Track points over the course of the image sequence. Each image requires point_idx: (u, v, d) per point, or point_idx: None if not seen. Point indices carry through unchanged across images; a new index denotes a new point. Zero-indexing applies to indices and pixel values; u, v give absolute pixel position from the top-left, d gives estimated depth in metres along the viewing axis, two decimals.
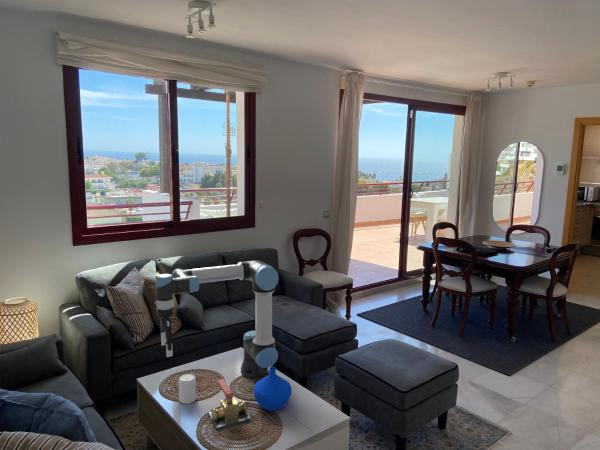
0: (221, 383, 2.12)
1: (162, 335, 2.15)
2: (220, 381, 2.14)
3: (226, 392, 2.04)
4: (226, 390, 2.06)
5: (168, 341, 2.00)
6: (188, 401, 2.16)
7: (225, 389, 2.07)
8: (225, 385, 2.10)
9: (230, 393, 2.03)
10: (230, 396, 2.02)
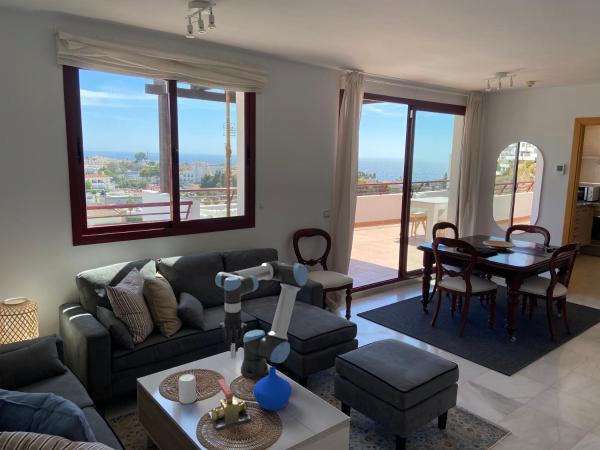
0: (221, 383, 2.12)
1: None
2: (220, 381, 2.14)
3: (226, 392, 2.04)
4: (226, 390, 2.06)
5: None
6: (188, 401, 2.16)
7: (225, 389, 2.07)
8: (225, 385, 2.10)
9: (230, 393, 2.03)
10: (230, 396, 2.02)
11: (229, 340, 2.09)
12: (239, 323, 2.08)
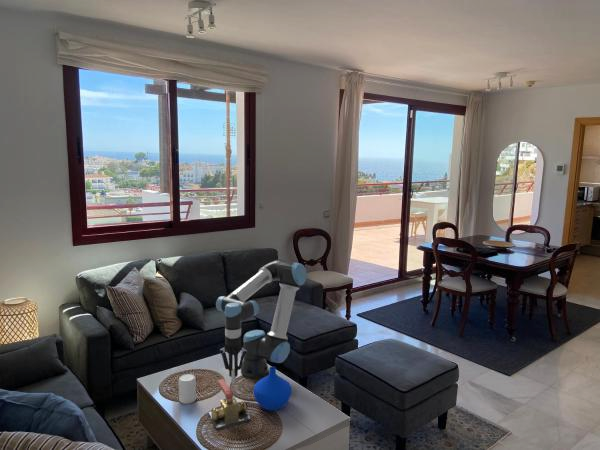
0: (221, 383, 2.12)
1: None
2: (220, 381, 2.14)
3: (226, 392, 2.04)
4: (226, 390, 2.06)
5: None
6: (188, 401, 2.16)
7: (225, 389, 2.07)
8: (225, 385, 2.10)
9: (230, 393, 2.03)
10: (230, 396, 2.02)
11: (230, 365, 2.11)
12: (239, 349, 2.10)
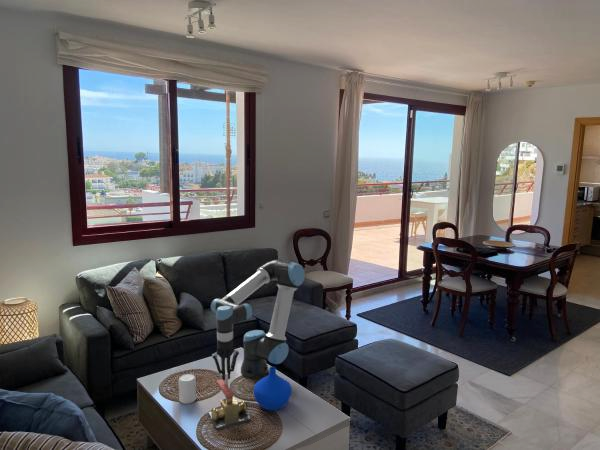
0: (220, 383, 2.12)
1: None
2: (219, 381, 2.13)
3: (226, 392, 2.04)
4: (226, 390, 2.06)
5: None
6: (188, 401, 2.16)
7: (225, 389, 2.06)
8: (224, 385, 2.10)
9: (230, 393, 2.03)
10: (230, 396, 2.02)
11: (223, 369, 2.10)
12: (232, 350, 2.11)
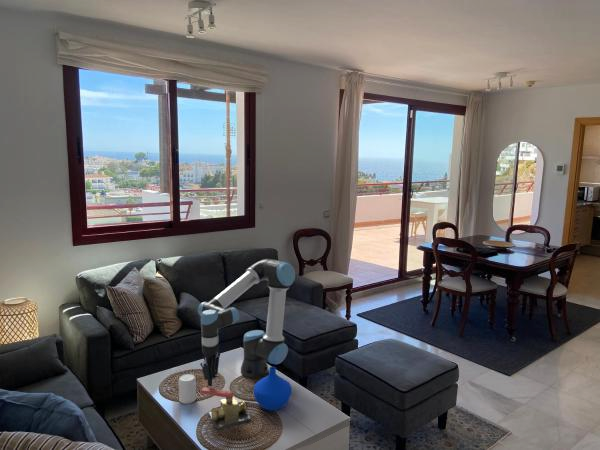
0: (209, 390, 2.05)
1: None
2: (205, 389, 2.06)
3: (226, 393, 2.03)
4: (223, 392, 2.04)
5: None
6: (188, 401, 2.16)
7: (221, 392, 2.04)
8: (215, 390, 2.06)
9: (230, 392, 2.04)
10: (232, 395, 2.03)
11: (211, 374, 2.05)
12: (216, 353, 2.08)
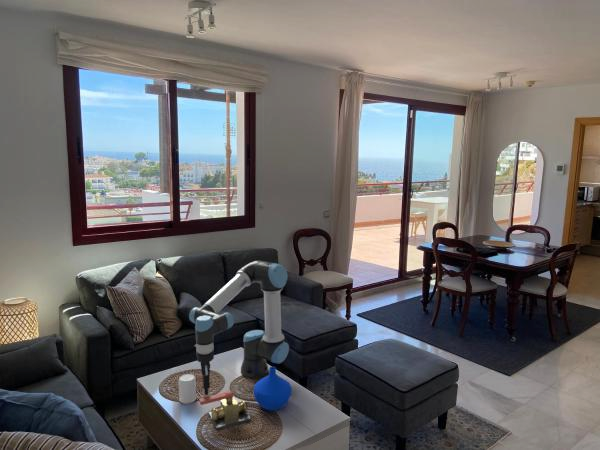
0: (208, 398, 1.98)
1: None
2: (204, 399, 1.98)
3: (227, 394, 2.02)
4: (223, 394, 2.02)
5: None
6: (188, 401, 2.16)
7: (221, 395, 2.01)
8: (213, 396, 2.01)
9: (230, 392, 2.04)
10: None
11: None
12: None
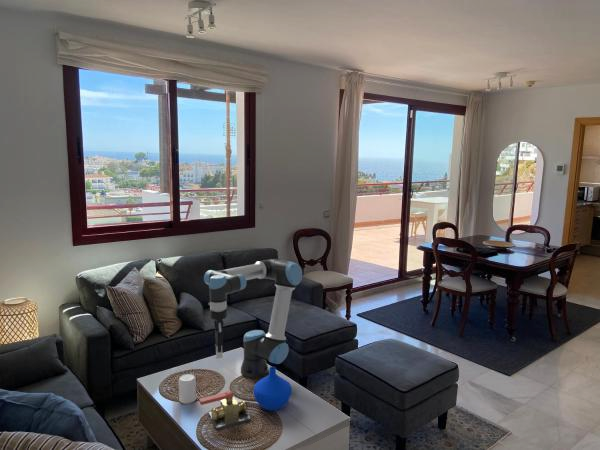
0: (208, 398, 1.98)
1: None
2: (204, 400, 1.98)
3: (227, 394, 2.02)
4: (223, 394, 2.02)
5: None
6: (188, 401, 2.16)
7: (221, 395, 2.01)
8: (213, 396, 2.01)
9: (230, 392, 2.04)
10: None
11: None
12: None
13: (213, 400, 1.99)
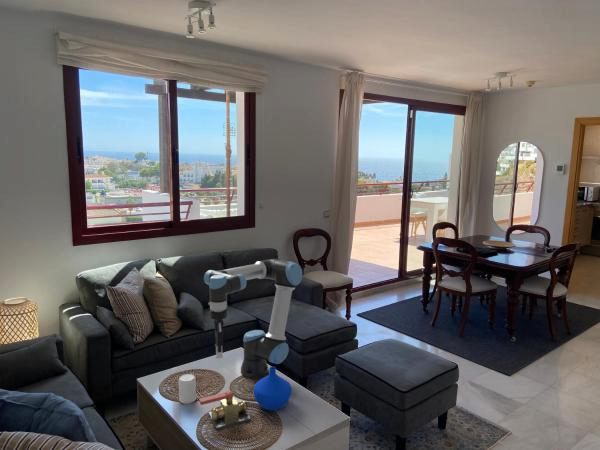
0: (208, 398, 1.98)
1: None
2: (204, 400, 1.98)
3: (227, 394, 2.02)
4: (223, 394, 2.02)
5: None
6: (188, 401, 2.16)
7: (221, 395, 2.01)
8: (213, 396, 2.01)
9: (230, 392, 2.04)
10: None
11: None
12: None
13: (213, 400, 1.99)
